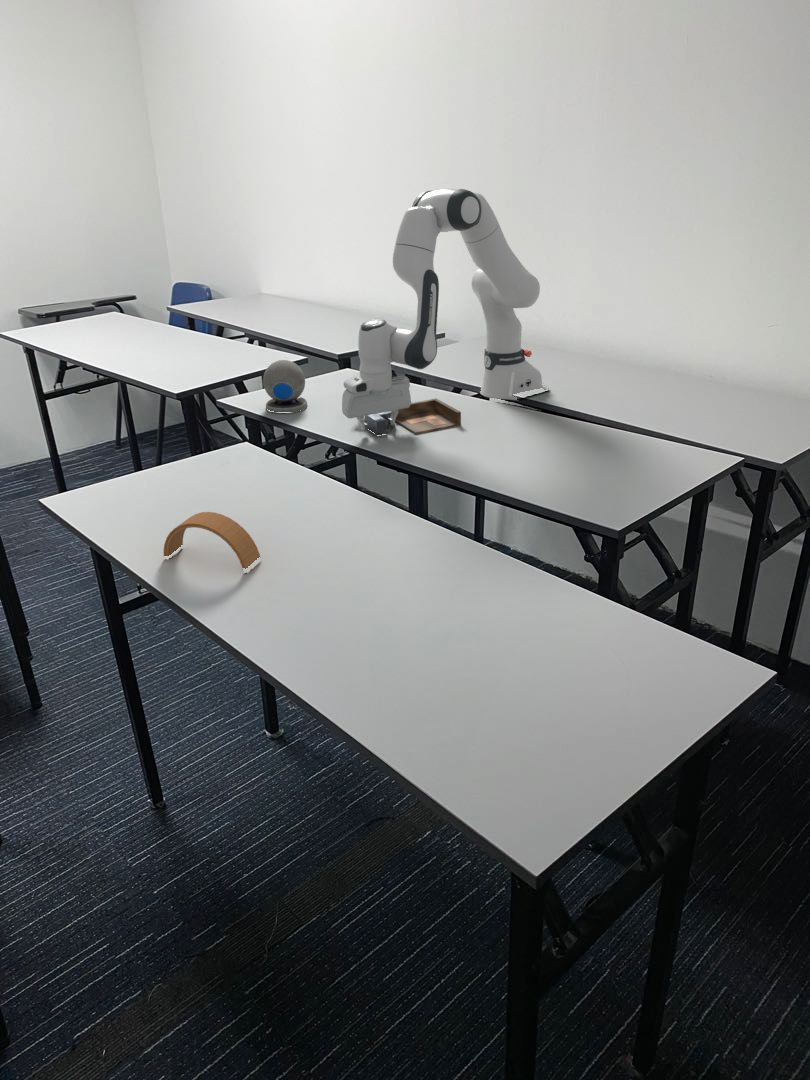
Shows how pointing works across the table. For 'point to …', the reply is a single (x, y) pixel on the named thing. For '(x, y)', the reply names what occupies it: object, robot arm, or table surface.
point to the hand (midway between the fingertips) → (378, 427)
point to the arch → (222, 528)
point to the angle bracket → (379, 422)
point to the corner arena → (428, 416)
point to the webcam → (284, 387)
